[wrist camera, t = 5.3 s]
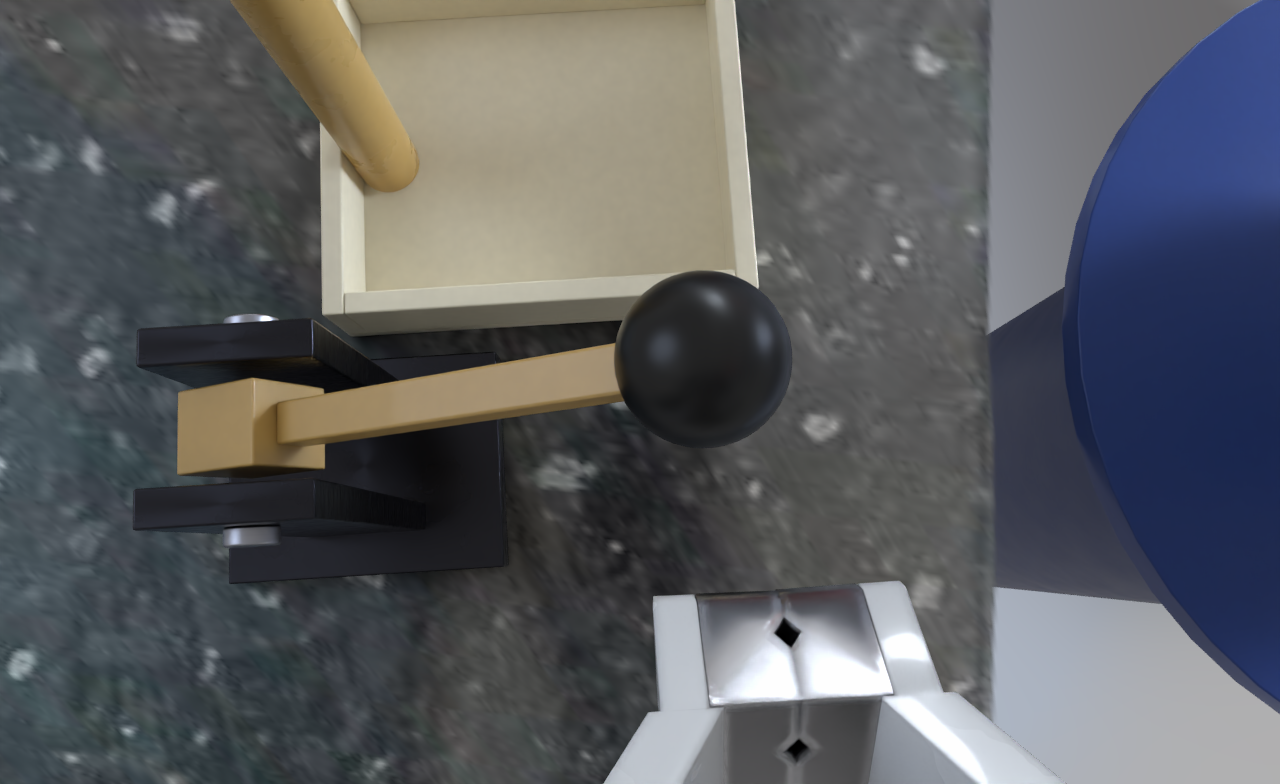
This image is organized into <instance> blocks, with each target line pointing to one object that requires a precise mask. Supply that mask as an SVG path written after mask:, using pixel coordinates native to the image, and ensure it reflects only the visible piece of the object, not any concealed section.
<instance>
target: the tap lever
mask: <svg viewBox="0 0 1280 784" xmlns="http://www.w3.org/2000/svg"><path fill="white" fill-rule="evenodd" d="M791 370H792V348H791V341H790V337H789V333H788V330H787V327H786V325H785V323H784V321H783V318H782V317H781V315H780V314H779V312H778V310H777V309H776V307H775V306H774V304H773V303H772V302H771V301H770V300H769V298H768V297H767V296H765V295H764V294H763V293H762V292H761V291H760V290H759V289H757V288H756V287H755V286H753V285H752V284H750V283H749V282H747V281H745V280H743V279H741V278H739V277H736V276H733V275H730V274H727V273H724V272H718V271H709V270H696V271H688V272H684V273H680V274H677V275H673V276H670V277H668V278H666V279H663V280H662V281H660V282H658V283H657V284H655V285H653V286H652V287H651V288H650V289H648V290H647V291H646V292H644V293H643V294H642V295H641V296H640V297H639V298H638V299H637V300H636V301H635V303H634V304H633V305H632V306H631V308H630V309H629V311H628V312H627V314H626V315H625V317H624V319H623V321H622V324H621V326H620V329H619V331H618V334H617V339H616V343H613V344H607V345H602V346H596V347H590V348H584V349H579V350H573V351H567V352H561V353H556V354H550V355H544V356H538V357H533V358H527V359H521V360H515V361H510V362H504V363H498V364H493V365H487V366H481V367H475V368H470V369H464V370H458V371H452V372H447V373H441V374H435V375H429V376H424V377H418V378H412V379H406V380H401V381H395V382H389V383H384V384H378V385H372V386H366V387H361V388H355V389H349V390H343V391H338V392H332V393H326V394H324V389H323V388H319V387H312V386H305V385H299V384H292V383H286V382H279V381H273V380H266V379H260V378H247V379H242V380H237V381H232V382H227V383H222V384H216V385H211V386H206V387H201V388H196V389H191V390H185V391H181V392H179V393H178V454H177V474H178V475H180V476H201V477H225V478H248V479H253V478H261V477H269V476H276V475H284V474H292V473H300V472H308V471H316V470H323V469H324V468H325V444H328V443H335V442H342V441H349V440H356V439H363V438H370V437H377V436H384V435H391V434H398V433H405V432H412V431H419V430H426V429H433V428H440V427H447V426H454V425H461V424H468V423H475V422H482V421H489V420H496V419H503V418H510V417H517V416H524V415H531V414H538V413H545V412H552V411H559V410H566V409H573V408H580V407H587V406H594V405H601V404H608V403H615V402H622V401H625V403H626V405H627V407H628V408H629V409H630V411H631V412H632V414H633V415H634V416H635V417H636V418H637V420H638V421H639V422H640V423H641V424H642V425H643V426H645V427H646V428H647V429H648V430H650V431H651V432H652V433H654V434H656V435H657V436H659V437H661V438H662V439H664V440H667V441H669V442H671V443H674V444H678V445H681V446H685V447H692V448H715V447H720V446H725V445H728V444H731V443H734V442H737V441H739V440H741V439H743V438H745V437H747V436H749V435H751V434H752V433H754V432H755V431H757V430H758V429H759V428H760V427H761V426H762V425H764V424H765V423H766V422H767V421H768V419H769V418H770V417H771V416H772V415H773V414H774V412H775V411H776V409H777V408H778V407H779V405H780V403H781V401H782V399H783V398H784V396H785V393H786V390H787V388H788V385H789V381H790V377H791Z"/></svg>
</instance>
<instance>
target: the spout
mask: <svg viewBox="0 0 1280 784" xmlns="http://www.w3.org/2000/svg"><path fill="white" fill-rule="evenodd" d="M230 1H231V3H232V4H233V5H234V7H235V8H236V9H237V11H238V12H239V14H240V15H241V16H242V18H243V19H244V20H245V22H246V23H247V24H248V26H249V27H250V28H251V30H252V31H253V32H254V34H255V35H256V36H257V38H258V39H259V40H260V42H261V43H262V44H263V46H264V47H265V48H266V50H267V51H268V52H269V54H270V55H271V56H272V58H273V59H274V60H275V62H276V63H277V65H278V66H279V67H280V69H281V70H282V71H283V73H284V74H285V75H286V77H287V78H288V79H289V81H290V82H291V83H292V85H293V86H294V87H295V89H296V90H297V91H298V93H299V94H300V95H301V97H302V98H303V99H304V101H305V102H306V103H307V105H308V106H309V107H310V109H311V110H312V111H313V113H314V114H315V116H316V117H317V118H318V120H319V121H320V122H321V124H322V125H323V126H324V128H325V129H326V130H327V132H328V133H329V134H330V136H331V137H332V138H333V140H334V141H335V142H336V144H337V145H338V146H339V148H340V149H341V150H342V152H343V153H344V154H345V156H346V157H347V158H348V160H349V161H350V162H351V164H352V165H353V167H354V168H355V169H356V171H357V172H358V173H359V175H360V176H361V177H362V179H363V180H364V181H365V183H366V184H367V185H369V186H370V187H371V188H373V189H375V190H377V191H380V192H395V191H399V190H401V189H403V188H405V187H406V186H408V185H409V184H410V183H411V182H412V181H413V180H414V178H415V177H416V175H417V173H418V170H419V156H418V153H417V150H416V149H415V147H414V145H413V143H412V141H411V140H410V138H409V136H408V134H407V132H406V131H405V129H404V127H403V125H402V123H401V122H400V120H399V118H398V116H397V114H396V113H395V111H394V109H393V107H392V106H391V104H390V102H389V100H388V98H387V97H386V95H385V93H384V91H383V89H382V88H381V86H380V84H379V82H378V80H377V79H376V77H375V75H374V73H373V71H372V70H371V68H370V66H369V64H368V62H367V61H366V59H365V57H364V55H363V53H362V52H361V50H360V48H359V46H358V45H357V43H356V41H355V39H354V37H353V36H352V34H351V32H350V30H349V28H348V27H347V25H346V23H345V21H344V19H343V18H342V16H341V14H340V12H339V10H338V9H337V7H336V5H335V3H334V1H333V0H230Z"/></svg>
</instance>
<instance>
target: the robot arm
mask: <svg viewBox="0 0 1280 784" xmlns="http://www.w3.org/2000/svg"><path fill="white" fill-rule="evenodd" d="M653 619H654V638H655V657H656V676H657V695H658V710H659V711H657V712H648V714H647V715H646V717H645V719H644V720H643V722H642V723H641V725H640V726H639V728H638V730H637V731H636V733H635V734H634V736H633V738H632V739H631V741H630V742H629V744H628V745H627V747H626V749H625V750H624V752H623V753H622V755H621V757H620V758H619V760H618V761H617V763H616V765H615V766H614V768H613V769H612V771H611V772H610V774H609V776H608V777H607V779H606V780H605V782H604V784H1066V783H1065V782H1064V781H1063V780H1062V779H1060V778H1059V777H1058V776H1057V775H1056V774H1055V773H1053V772H1052V771H1051V770H1050V769H1048V768H1047V767H1046V766H1045V765H1044V764H1042V763H1041V762H1040V761H1039V760H1038V759H1036V758H1035V757H1034V756H1033V755H1032V754H1030V753H1029V752H1028V751H1027V750H1026V749H1024V748H1023V747H1022V746H1021V745H1019V744H1018V743H1017V742H1016V741H1015V740H1014V739H1012V738H1011V737H1010V736H1009V735H1008V734H1006V733H1005V732H1004V731H1003V730H1001V729H1000V728H999V727H998V726H997V725H996V724H994V723H993V722H992V721H991V720H990V719H988V718H987V717H986V716H985V715H984V714H982V713H981V712H980V711H979V710H977V709H976V708H975V707H974V706H973V705H971V704H970V703H969V702H968V701H967V700H965V699H964V698H963V697H962V696H961V695H959V694H958V693H957V692H943V689H942V686H941V683H940V681H939V678H938V675H937V672H936V670H935V667H934V664H933V661H932V658H931V656H930V653H929V650H928V647H927V645H926V642H925V639H924V636H923V634H922V631H921V628H920V625H919V622H918V620H917V617H916V614H915V611H914V609H913V606H912V603H911V600H910V598H909V595H908V592H907V589H906V587H905V586H904V585H903V584H902V583H901V582H900V581H889V582H875V583H861V584H858V585H857V584H855V583H854V584H841V585H828V586H815V587H802V588H789V589H776V590H775V591H755V592H730V593H704V594H696V595H695V596H694V594H693V595H671V596H653Z"/></svg>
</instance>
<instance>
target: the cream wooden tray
mask: <svg viewBox="0 0 1280 784" xmlns="http://www.w3.org/2000/svg"><path fill="white" fill-rule="evenodd" d="M333 1H334V3H335V5H336V7H337V9H338V10H339V12H340V14H341V16H342V18H343V19H344V21H345V23H346V25H347V27H348V28H349V30H350V32H351V34H352V36H353V37H354V39H355V41H356V43H357V45H358V46H359V48H360V50H361V52H362V53H363V55H364V57H365V59H366V61H367V62H368V64H369V66H370V68H371V70H372V71H373V73H374V75H375V77H376V79H377V80H378V82H379V84H380V86H381V88H382V89H383V91H384V93H385V95H386V97H387V98H388V100H389V102H390V104H391V106H392V107H393V109H394V111H395V113H396V114H397V116H398V118H399V120H400V122H401V123H402V125H403V127H404V129H405V131H406V132H407V134H408V136H409V138H410V140H411V141H412V143H413V145H414V147H415V149H416V150H417V153H418V156H419V170H418V173H417V175H416V177H415V178H414V180H413V181H412V182H411V183H410V184H409V185H408V186H406V187H405V188H403V189H401V190H399V191H395V192H380V191H377V190H375V189H373V188H371V187H370V186H369V185H367V184H366V183H365V181H364V180H363V179H362V177H361V176H360V175H359V173H358V172H357V171H356V169H355V168H354V167H353V165H352V164H351V162H350V161H349V160H348V158H347V157H346V156H345V154H344V153H343V152H342V150H341V149H340V148H339V146H338V145H337V144H336V142H335V141H334V140H333V138H332V137H331V136H330V134H329V133H328V132H327V130H326V129H325V128H324V126H323V125H322V124H321V122H320V166H321V251H322V314H323V316H325V317H326V318H327V319H329V320H330V321H331V322H333V323H334V324H335V325H337V326H338V327H339V328H341V329H342V330H344V331H345V332H346V333H347V334H349V335H350V336H352V337H354V336H370V335H386V334H403V333H419V332H435V331H452V330H468V329H485V328H501V327H517V326H534V325H550V324H566V323H583V322H599V321H616V320H623V319H624V317H625V315H626V314H627V312H628V311H629V309H630V308H631V306H632V305H633V304H634V303H635V301H636V300H637V299H638V298H639V297H640V296H641V295H642V294H643V293H644V292H646V291H647V290H648V289H650V288H651V287H652V286H653V285H655V284H657V283H658V282H660V281H662V280H663V279H666V278H668V277H670V276H673V275H677V274H680V273H684V272H688V271H696V270H709V271H718V272H724V273H727V274H730V275H733V276H736V277H739V278H741V279H743V280H745V281H747V282H749V283H750V284H752V285H753V286H755V287H756V288H757V289H758V288H759V283H758V271H757V259H756V247H755V235H754V223H753V212H752V200H751V188H750V176H749V164H748V152H747V140H746V129H745V117H744V105H743V93H742V81H741V69H740V57H739V46H738V34H737V22H736V10H735V0H333Z"/></svg>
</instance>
